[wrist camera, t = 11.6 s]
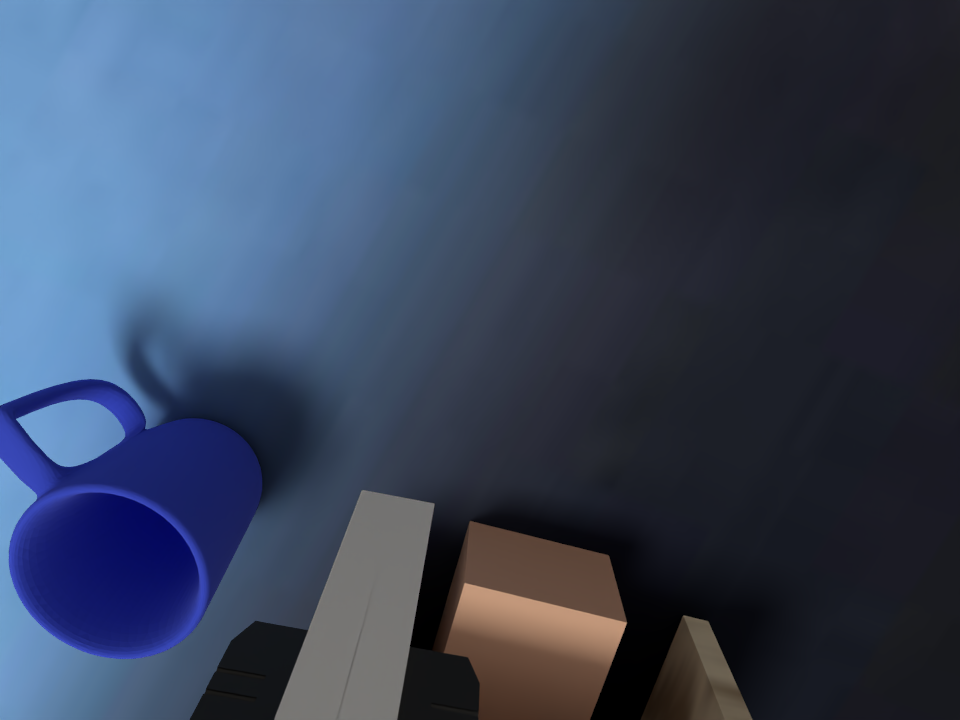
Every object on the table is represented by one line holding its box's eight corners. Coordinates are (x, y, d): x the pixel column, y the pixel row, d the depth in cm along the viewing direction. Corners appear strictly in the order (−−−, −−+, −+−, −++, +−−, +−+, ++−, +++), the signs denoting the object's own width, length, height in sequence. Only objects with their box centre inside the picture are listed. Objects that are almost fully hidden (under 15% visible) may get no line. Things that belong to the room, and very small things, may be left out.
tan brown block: (470, 518, 39) (464, 582, 33) (608, 553, 39) (627, 622, 33) (420, 690, 42) (407, 775, 36) (547, 720, 42) (555, 809, 37)
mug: (166, 309, 35) (42, 367, 26) (312, 489, 38) (249, 602, 28) (50, 393, 37) (-108, 478, 27) (198, 561, 39) (102, 692, 30)
